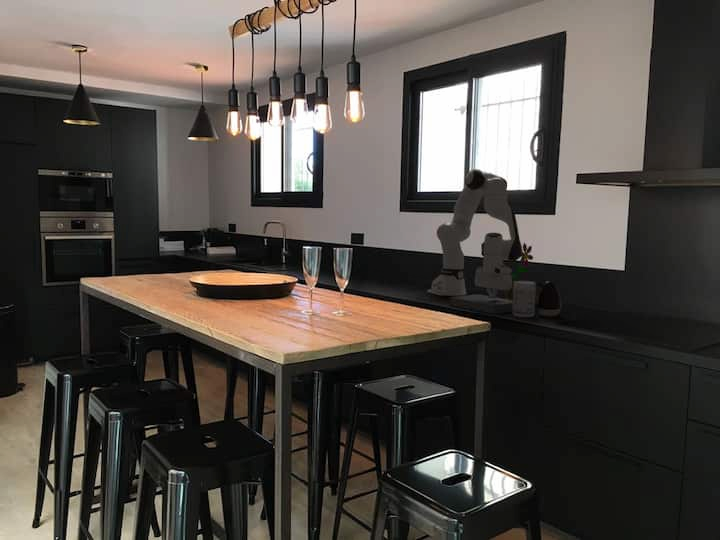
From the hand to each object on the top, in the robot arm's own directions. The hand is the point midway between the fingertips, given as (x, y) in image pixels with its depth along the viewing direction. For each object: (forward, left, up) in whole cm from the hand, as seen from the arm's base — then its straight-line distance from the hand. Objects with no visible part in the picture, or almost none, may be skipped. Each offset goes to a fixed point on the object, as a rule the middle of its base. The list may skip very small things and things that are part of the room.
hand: (492, 298), depth 271 cm
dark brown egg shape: (+25, +9, -5) cm, 27 cm away
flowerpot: (-5, +23, -6) cm, 24 cm away
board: (-4, 0, -5) cm, 7 cm away
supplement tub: (+19, 0, -6) cm, 19 cm away
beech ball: (+3, 0, -3) cm, 5 cm away
